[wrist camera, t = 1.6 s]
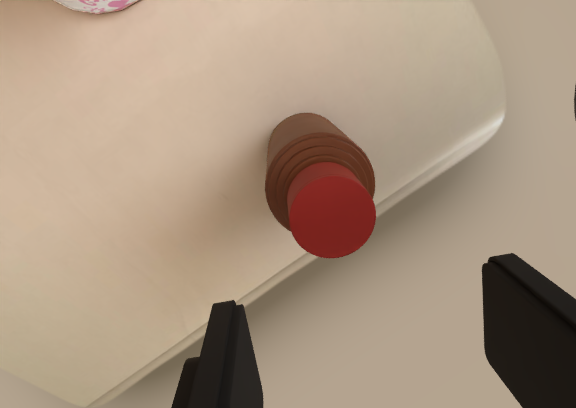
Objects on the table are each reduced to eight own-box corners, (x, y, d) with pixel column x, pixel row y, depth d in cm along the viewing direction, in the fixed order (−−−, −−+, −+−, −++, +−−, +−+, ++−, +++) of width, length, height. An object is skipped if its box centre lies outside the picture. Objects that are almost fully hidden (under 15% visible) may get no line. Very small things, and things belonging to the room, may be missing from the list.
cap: (359, 155, 22) (372, 168, 19) (367, 227, 23) (381, 250, 20) (281, 168, 22) (282, 184, 19) (293, 239, 23) (296, 264, 20)
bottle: (337, 106, 35) (393, 136, 19) (347, 180, 37) (405, 265, 21) (261, 119, 35) (250, 160, 19) (275, 193, 37) (275, 287, 21)
